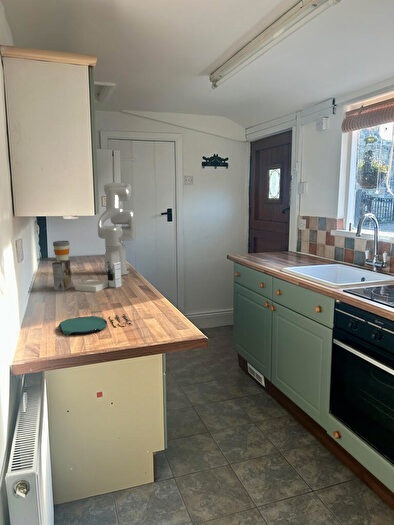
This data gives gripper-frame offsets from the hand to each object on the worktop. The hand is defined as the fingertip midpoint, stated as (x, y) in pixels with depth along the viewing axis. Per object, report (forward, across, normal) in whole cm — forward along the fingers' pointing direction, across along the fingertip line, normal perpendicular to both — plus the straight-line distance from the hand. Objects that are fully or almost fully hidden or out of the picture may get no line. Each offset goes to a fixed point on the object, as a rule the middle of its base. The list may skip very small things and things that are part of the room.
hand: (113, 278), depth 242 cm
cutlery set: (+5, +62, +29) cm, 69 cm away
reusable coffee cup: (+5, -64, -87) cm, 108 cm away
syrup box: (+5, 0, +1) cm, 5 cm away
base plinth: (+5, +7, -10) cm, 13 cm away
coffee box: (+5, +13, -26) cm, 30 cm away
